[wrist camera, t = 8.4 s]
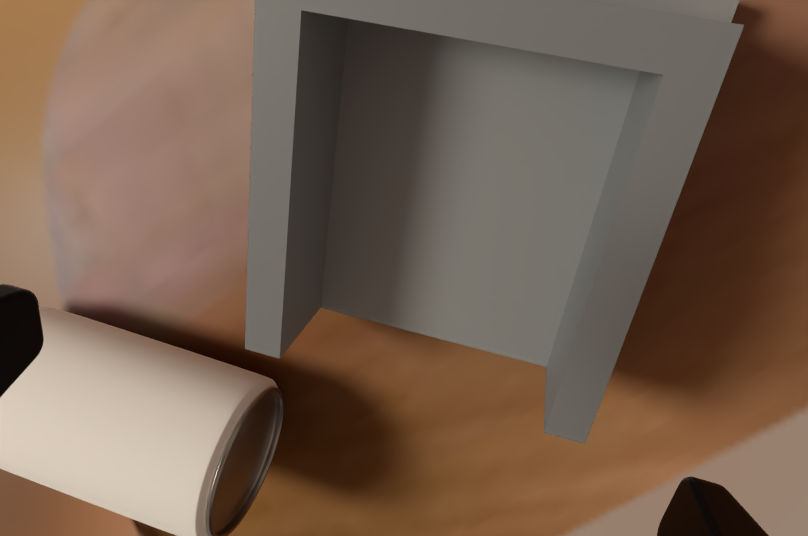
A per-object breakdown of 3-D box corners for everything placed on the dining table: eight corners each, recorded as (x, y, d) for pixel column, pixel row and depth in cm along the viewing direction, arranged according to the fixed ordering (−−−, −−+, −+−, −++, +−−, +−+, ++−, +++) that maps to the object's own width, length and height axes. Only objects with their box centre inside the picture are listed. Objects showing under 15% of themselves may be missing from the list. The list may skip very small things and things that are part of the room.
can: (203, 468, 18) (-111, 355, 20) (206, 585, 21) (-64, 480, 23) (292, 348, 23) (39, 269, 25) (283, 456, 27) (60, 379, 29)
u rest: (596, 364, 21) (605, 449, 17) (286, 284, 23) (227, 344, 19) (729, -1, 15) (788, -3, 11) (309, -66, 17) (233, -88, 13)
